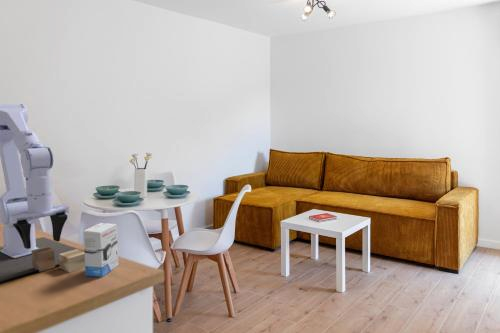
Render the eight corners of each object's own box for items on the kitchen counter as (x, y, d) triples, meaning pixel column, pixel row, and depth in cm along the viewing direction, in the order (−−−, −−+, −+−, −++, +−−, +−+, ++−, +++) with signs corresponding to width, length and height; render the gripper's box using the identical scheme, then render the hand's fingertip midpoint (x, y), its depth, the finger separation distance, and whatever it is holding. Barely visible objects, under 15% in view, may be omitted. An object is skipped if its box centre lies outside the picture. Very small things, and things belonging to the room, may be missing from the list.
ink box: (102, 277, 101) (100, 232, 99) (84, 276, 102) (82, 231, 100) (119, 265, 109) (117, 223, 108) (103, 263, 110) (101, 222, 108)
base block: (59, 268, 107) (58, 254, 106) (77, 263, 111) (76, 249, 110) (69, 273, 104) (68, 258, 103) (87, 267, 108) (86, 252, 107)
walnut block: (32, 268, 107) (31, 250, 106) (47, 264, 110) (46, 246, 109) (39, 272, 104) (38, 253, 104) (55, 267, 107) (53, 249, 107)
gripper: (16, 200, 96) (20, 254, 98) (73, 191, 108) (76, 240, 109) (3, 196, 100) (7, 249, 102) (60, 188, 112) (63, 235, 114)
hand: (42, 244), depth 106 cm, fingers open, 7 cm apart
